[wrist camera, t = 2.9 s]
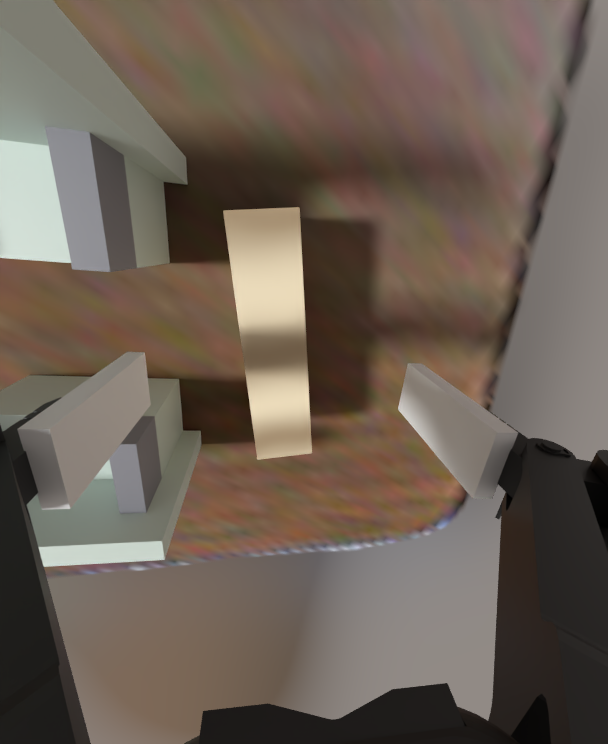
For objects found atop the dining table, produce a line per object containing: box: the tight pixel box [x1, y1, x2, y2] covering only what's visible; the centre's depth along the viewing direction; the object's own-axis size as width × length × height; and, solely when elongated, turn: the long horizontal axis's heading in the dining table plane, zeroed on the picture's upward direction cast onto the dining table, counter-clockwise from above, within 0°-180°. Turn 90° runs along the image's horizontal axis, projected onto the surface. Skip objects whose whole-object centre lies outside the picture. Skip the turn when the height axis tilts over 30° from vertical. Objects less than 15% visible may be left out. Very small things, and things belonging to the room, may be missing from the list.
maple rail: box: [223, 207, 312, 460], centre depth 22 cm, size 16×4×6 cm, turn 3°
